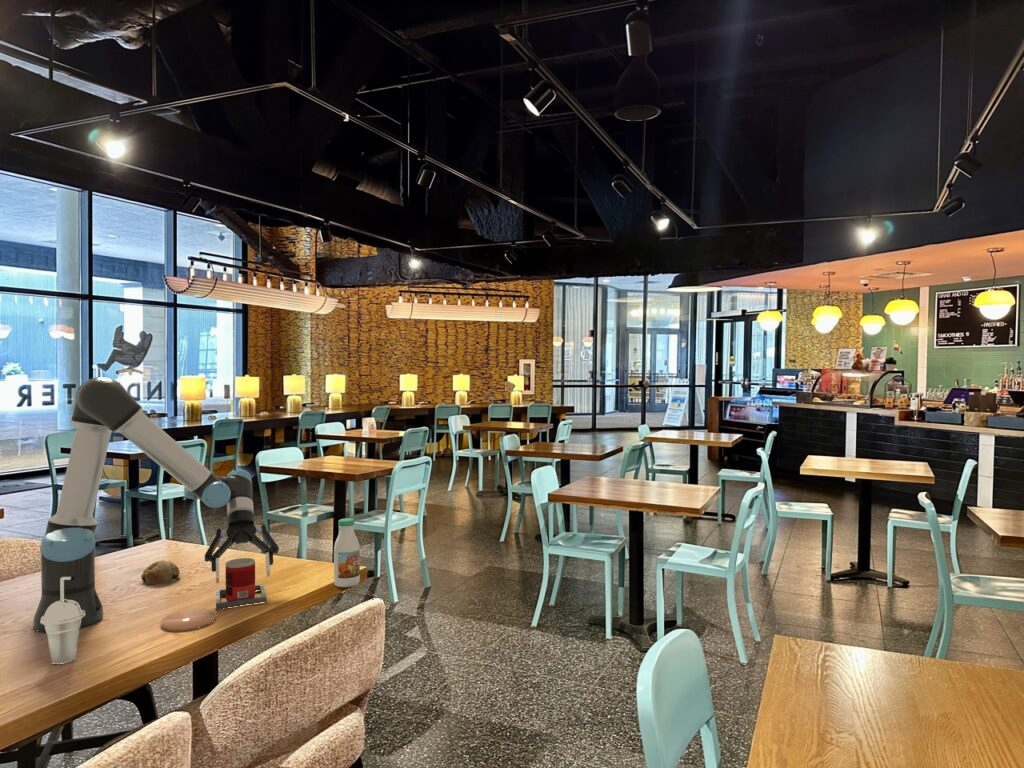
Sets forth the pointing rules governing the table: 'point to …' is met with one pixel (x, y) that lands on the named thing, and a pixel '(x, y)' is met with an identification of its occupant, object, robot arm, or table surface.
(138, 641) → the table surface
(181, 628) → the terracotta plate
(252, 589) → the canned food
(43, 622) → the cup with straw
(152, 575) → the bread roll
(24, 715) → the table surface
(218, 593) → the square metal frame
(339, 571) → the milk bottle
